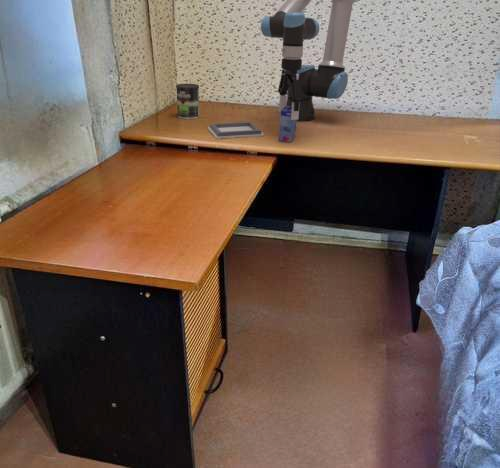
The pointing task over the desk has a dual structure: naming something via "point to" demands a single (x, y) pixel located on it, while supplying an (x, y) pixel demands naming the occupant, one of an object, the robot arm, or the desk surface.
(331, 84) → the robot arm
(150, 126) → the desk surface
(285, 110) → the ink cartridge box
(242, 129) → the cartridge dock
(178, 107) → the coffee can
